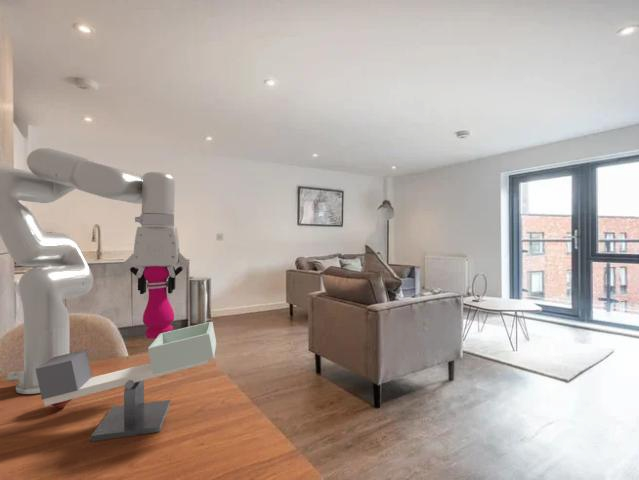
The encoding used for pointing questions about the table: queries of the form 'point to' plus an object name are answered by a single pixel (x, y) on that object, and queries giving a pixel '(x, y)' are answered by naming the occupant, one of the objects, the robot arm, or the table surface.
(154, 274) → the pepper mill
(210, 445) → the table surface
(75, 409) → the table surface
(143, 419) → the stand
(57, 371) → the beam
